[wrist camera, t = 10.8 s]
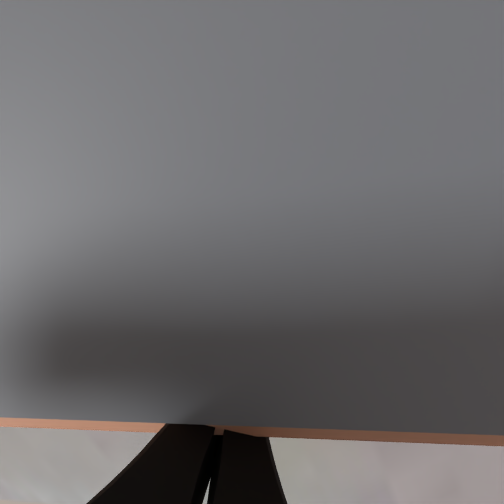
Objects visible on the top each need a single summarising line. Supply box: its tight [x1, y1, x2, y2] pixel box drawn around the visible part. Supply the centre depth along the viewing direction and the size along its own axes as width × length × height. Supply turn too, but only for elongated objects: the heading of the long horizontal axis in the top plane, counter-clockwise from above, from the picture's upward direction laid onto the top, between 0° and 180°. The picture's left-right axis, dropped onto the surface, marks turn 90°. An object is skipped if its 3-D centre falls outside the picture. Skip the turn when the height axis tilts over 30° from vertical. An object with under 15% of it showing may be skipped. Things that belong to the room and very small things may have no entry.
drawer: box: [0, 417, 504, 446], centre depth 9 cm, size 11×10×5 cm
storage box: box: [0, 0, 504, 436], centre depth 8 cm, size 11×10×6 cm
